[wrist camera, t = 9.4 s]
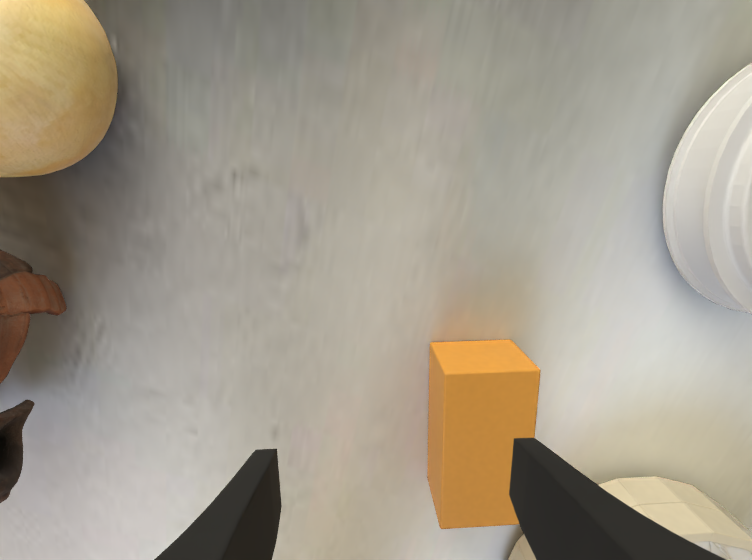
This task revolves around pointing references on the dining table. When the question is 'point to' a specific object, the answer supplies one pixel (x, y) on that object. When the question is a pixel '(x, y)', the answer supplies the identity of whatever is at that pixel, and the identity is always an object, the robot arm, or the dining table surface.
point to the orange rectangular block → (477, 428)
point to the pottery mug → (18, 350)
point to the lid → (714, 197)
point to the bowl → (675, 516)
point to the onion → (52, 85)
